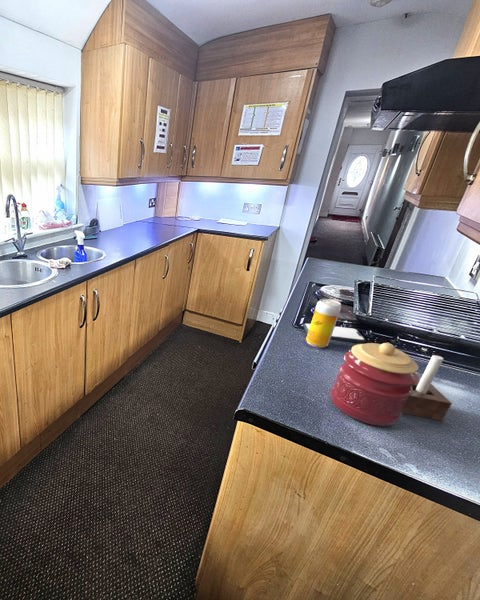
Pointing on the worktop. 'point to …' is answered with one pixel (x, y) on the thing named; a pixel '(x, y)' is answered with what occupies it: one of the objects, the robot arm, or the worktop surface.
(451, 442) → the worktop surface
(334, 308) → the pint of beer
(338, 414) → the worktop surface
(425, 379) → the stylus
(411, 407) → the pen stand
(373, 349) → the kitchen canister
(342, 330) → the phone case
